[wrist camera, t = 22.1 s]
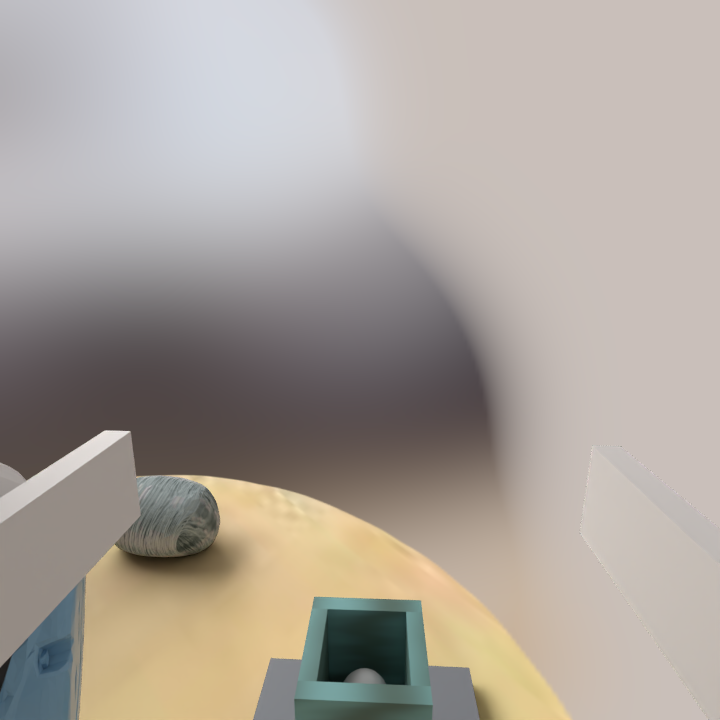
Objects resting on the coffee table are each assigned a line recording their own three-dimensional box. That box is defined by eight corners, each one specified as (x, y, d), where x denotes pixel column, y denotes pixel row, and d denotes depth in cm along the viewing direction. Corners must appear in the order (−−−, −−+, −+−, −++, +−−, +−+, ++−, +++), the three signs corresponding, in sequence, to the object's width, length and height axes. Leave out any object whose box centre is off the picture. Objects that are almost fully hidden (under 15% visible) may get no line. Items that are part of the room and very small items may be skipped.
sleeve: (300, 843, 25) (294, 698, 23) (317, 717, 32) (314, 596, 29) (426, 850, 24) (432, 704, 22) (416, 722, 31) (420, 600, 29)
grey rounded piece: (246, 503, 56) (201, 452, 51) (211, 579, 49) (155, 529, 44) (166, 506, 61) (118, 460, 56) (124, 575, 54) (65, 530, 49)
